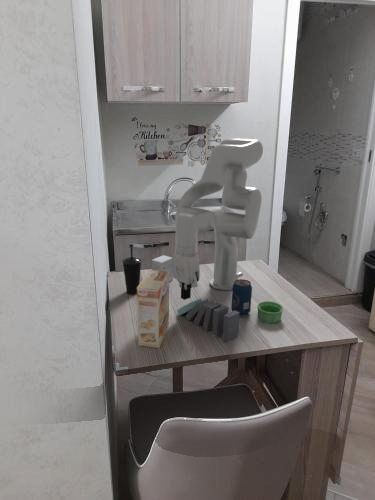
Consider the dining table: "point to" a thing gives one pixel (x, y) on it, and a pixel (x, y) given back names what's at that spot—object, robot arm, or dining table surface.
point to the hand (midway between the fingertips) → (185, 298)
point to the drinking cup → (132, 273)
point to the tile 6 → (230, 326)
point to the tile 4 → (210, 315)
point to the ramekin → (269, 311)
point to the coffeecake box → (153, 308)
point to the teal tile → (188, 307)
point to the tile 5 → (219, 320)
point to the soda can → (241, 297)
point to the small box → (163, 265)
